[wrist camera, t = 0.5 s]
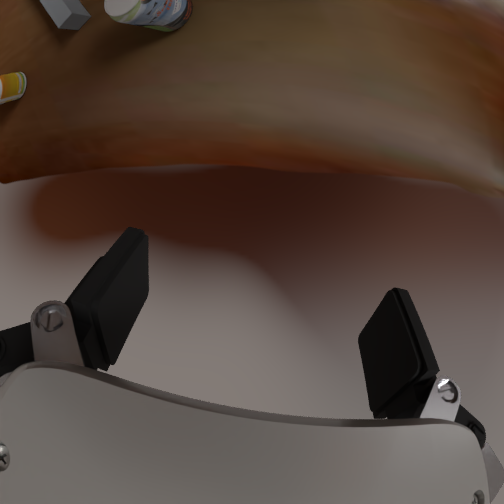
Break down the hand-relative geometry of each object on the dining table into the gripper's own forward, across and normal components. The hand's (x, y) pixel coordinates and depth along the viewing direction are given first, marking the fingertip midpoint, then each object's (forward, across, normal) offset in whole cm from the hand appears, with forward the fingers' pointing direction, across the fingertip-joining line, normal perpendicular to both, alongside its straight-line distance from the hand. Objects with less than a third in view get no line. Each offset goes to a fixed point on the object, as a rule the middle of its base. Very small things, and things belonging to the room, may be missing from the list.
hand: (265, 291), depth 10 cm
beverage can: (+31, +18, -15) cm, 39 cm away
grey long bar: (+30, +41, -23) cm, 56 cm away
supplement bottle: (+31, +47, -5) cm, 57 cm away
